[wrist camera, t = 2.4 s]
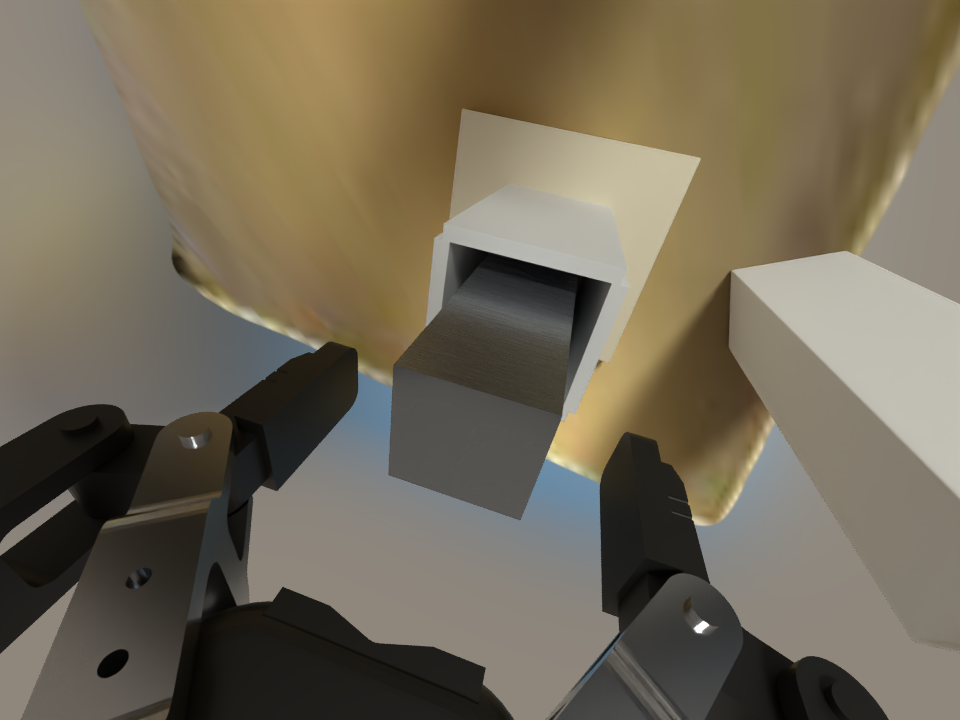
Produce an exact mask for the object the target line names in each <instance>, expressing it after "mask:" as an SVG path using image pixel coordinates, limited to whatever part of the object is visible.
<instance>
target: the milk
mask: <svg viewBox="0 0 960 720" xmlns="http://www.w3.org/2000/svg"><path fill="white" fill-rule="evenodd" d="M729 349H730V351H731V352H732V354H733V356H734V357H735V359H736V360H737V362H738V364H739V365H740V367H741V368H742V370H743V372H744V373H745V375H746V376H747V378H748V380H749V381H750V383H751V384H752V386H753V388H754V389H755V391H756V392H757V394H758V396H759V397H760V399H761V400H762V402H763V403H764V405H765V407H766V408H767V410H768V411H769V413H770V415H771V416H772V418H773V419H774V421H775V423H776V424H777V426H778V427H779V429H780V431H781V432H782V434H783V435H784V437H785V439H786V440H787V442H788V443H789V445H790V446H791V448H792V450H793V451H794V453H795V454H796V456H797V458H798V459H799V461H800V462H801V464H802V466H803V467H804V469H805V471H806V472H807V474H808V475H809V477H810V478H811V480H812V482H813V483H814V485H815V487H816V488H817V490H818V491H819V493H820V494H821V496H822V498H823V499H824V501H825V502H826V504H827V506H828V507H829V509H830V510H831V512H832V514H833V515H834V517H835V518H836V520H837V521H838V523H839V525H840V526H841V528H842V530H843V531H844V533H845V534H846V536H847V538H848V539H849V541H850V542H851V544H852V546H853V547H854V549H855V550H856V552H857V553H858V555H859V557H860V558H861V560H862V561H863V563H864V565H865V566H866V568H867V570H868V571H869V573H870V574H871V576H872V578H873V579H874V581H875V582H876V584H877V585H878V587H879V589H880V590H881V592H882V593H883V595H884V597H885V598H886V600H887V601H888V603H889V605H890V606H891V608H892V609H893V611H894V613H895V614H896V616H897V617H898V619H899V621H900V622H901V624H902V625H903V627H904V629H905V630H906V632H907V633H908V635H909V636H910V638H911V639H912V641H914V642H916V643H920V644H924V645H928V646H932V647H936V648H941V649H945V650H949V651H953V652H958V653H960V304H958V303H956V302H954V301H952V300H949V299H947V298H945V297H943V296H941V295H939V294H937V293H935V292H932V291H930V290H928V289H926V288H924V287H922V286H920V285H918V284H915V283H913V282H911V281H909V280H907V279H905V278H903V277H901V276H898V275H896V274H894V273H892V272H890V271H887V270H885V269H884V268H881V267H879V266H877V265H875V264H873V263H871V262H869V261H867V260H864V259H862V258H860V257H858V256H856V255H854V254H852V253H850V252H847V251H842V252H836V253H830V254H824V255H818V256H812V257H806V258H800V259H795V260H789V261H783V262H777V263H771V264H765V265H759V266H753V267H747V268H741V269H736V270H732V271H731V289H730V320H729Z"/></svg>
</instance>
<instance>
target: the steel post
mask: <svg viewBox="0 0 960 720" xmlns="http://www.w3.org/2000/svg"><path fill="white" fill-rule="evenodd" d="M577 277H578V275H577V274H573V273H569V272H565V271H561V270H557V269H553V268H550V267H546V266H542V265H538V264H534V263H530V262H526V261H522V260H518V259H514V258H510V257H507V256H503V255H499V254H495V253H491V252H490V253H489V254H488V256H487V257H486V258H485V259H484V260H483V261H482V262H481V264H480V265H479V266H478V267H477V268H476V269H475V271H474V272H473V273H472V274H471V275H470V276H469V278H468V279H467V280H466V281H465V282H464V283H463V285H462V286H461V287H460V288H459V289H458V290H457V292H456V293H455V294H454V295H453V296H452V297H451V299H450V300H449V301H448V302H447V303H446V304H445V306H444V307H443V308H442V309H441V310H440V311H439V313H438V314H437V315H436V316H435V317H434V318H433V320H432V321H431V322H430V323H429V324H428V325H427V327H426V328H425V329H424V330H423V331H422V332H421V334H420V335H419V336H418V337H417V338H416V339H415V341H414V342H413V343H412V344H411V345H410V346H409V348H408V349H407V350H406V351H405V352H404V353H403V355H402V356H401V357H400V358H399V359H398V360H397V362H396V363H395V364H394V368H393V389H392V411H391V435H390V454H389V475H390V476H393V477H396V478H399V479H402V480H405V481H408V482H411V483H413V484H416V485H419V486H422V487H425V488H428V489H431V490H434V491H437V492H440V493H442V494H446V495H449V496H451V497H454V498H457V499H460V500H463V501H466V502H469V503H472V504H474V505H477V506H480V507H483V508H486V509H489V510H492V511H495V512H498V513H501V514H503V515H506V516H509V517H512V518H515V519H518V520H521V517H522V515H523V513H524V510H525V508H526V505H527V503H528V500H529V498H530V495H531V493H532V490H533V488H534V485H535V483H536V480H537V478H538V475H539V473H540V470H541V468H542V465H543V463H544V460H545V458H546V455H547V453H548V450H549V448H550V445H551V443H552V440H553V438H554V436H555V433H556V431H557V428H558V426H559V423H560V421H561V418H562V414H563V405H564V396H565V387H566V377H567V368H568V359H569V350H570V341H571V332H572V323H573V314H574V305H575V295H576V286H577Z"/></svg>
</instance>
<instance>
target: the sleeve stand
mask: <svg viewBox="0 0 960 720" xmlns="http://www.w3.org/2000/svg"><path fill="white" fill-rule="evenodd" d="M700 160H701V158H698V157H693V156H689V155H684V154H679V153H674V152H669V151H665V150H660V149H655V148H650V147H645V146H640V145H636V144H631V143H626V142H621V141H616V140H612V139H607V138H602V137H597V136H592V135H588V134H583V133H578V132H573V131H568V130H564V129H559V128H554V127H549V126H544V125H539V124H535V123H530V122H525V121H520V120H515V119H511V118H506V117H501V116H496V115H491V114H487V113H482V112H477V111H472V110H467V109H462V113H461V121H460V130H459V138H458V147H457V155H456V164H455V172H454V181H453V189H452V198H451V206H450V215H449V221H447V222H445V223H444V227H443V233H441V234H440V235H438V236H437V237H435V238H434V247H433V257H432V267H431V277H430V287H429V298H428V308H427V318H426V327H427V325H428V324H429V323H430V322H431V321H432V320H433V318H434V317H435V316H436V315H437V314H438V313H439V311H440V310H441V309H442V308H443V307H444V306H445V304H446V303H447V302H448V301H449V300H450V299H451V297H452V296H453V295H454V294H455V293H456V292H457V290H458V289H459V288H460V287H461V286H462V285H463V283H464V282H465V281H466V280H467V279H468V278H469V276H470V275H471V274H472V273H473V272H474V271H475V269H476V268H477V267H478V266H479V265H480V264H481V262H482V261H483V260H484V259H485V258H486V257H487V256H488V254H489V253H490V252H491V253H495V254H499V255H503V256H507V257H510V258H514V259H518V260H522V261H526V262H530V263H534V264H538V265H542V266H546V267H550V268H553V269H557V270H561V271H565V272H569V273H573V274H577V275H578V277H577V286H576V295H575V305H574V314H573V323H572V332H571V341H570V350H569V359H568V368H567V377H566V387H565V396H564V405H563V414H562V418H561V421H562V422H565V419H566V417H567V415H568V412H569V413H572V414H576V411H577V409H578V407H579V404H580V402H581V400H582V397H583V395H584V392H585V390H586V388H587V385H588V383H589V381H590V378H591V376H592V374H593V371H594V369H595V367H596V364H597V362H598V360H601V361H605V362H608V363H609V362H610V360H611V357H612V355H613V353H614V351H615V349H616V346H617V344H618V342H619V340H620V337H621V335H622V333H623V331H624V329H625V326H626V324H627V322H628V320H629V317H630V315H631V313H632V311H633V309H634V306H635V304H636V302H637V300H638V297H639V295H640V293H641V291H642V289H643V286H644V284H645V282H646V280H647V277H648V275H649V273H650V271H651V268H652V266H653V264H654V262H655V260H656V257H657V255H658V253H659V251H660V248H661V246H662V244H663V242H664V240H665V237H666V235H667V233H668V231H669V228H670V226H671V224H672V222H673V220H674V217H675V215H676V213H677V211H678V208H679V206H680V204H681V202H682V200H683V197H684V195H685V193H686V191H687V188H688V186H689V184H690V182H691V180H692V177H693V175H694V173H695V171H696V168H697V166H698V164H699V162H700Z"/></svg>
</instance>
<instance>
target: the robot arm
mask: <svg viewBox="0 0 960 720" xmlns="http://www.w3.org/2000/svg"><path fill="white" fill-rule="evenodd" d="M357 393H358V355H357V351H356V349H354V348H351V347H348V346H345V345H341V344H338V343H335V342H328V343H326V344H325V345H324V346H322V347H321V348H320V349H318V350H317V351H316V352H315V353H310V352H309V353H306V354H303V355H301V356H298V357H296V358H292V359H291V360H289V361H288V362H286V363H285V364H284V365H282V366H281V367H280V368H278V369H277V371H276V372H275V371H274V372H273V373H271V374H270V375H269V376H268V377H266V379H265V380H262V381H261V382H259V383H258V384H257V385H255V386H254V387H253V388H251V389H250V390H248V391H247V392H246V393H244V394H243V395H242V396H240V397H239V398H238V399H236V400H235V401H234V402H232V403H231V404H230V405H228V406H227V407H226V408H224V409H223V410H222V411H220V412H219V413H215V412H199V413H194V414H190V415H186V416H183V417H181V418H179V419H176V420H175V421H173V422H171V423H170V424H168V425H167V426H155V425H137V424H130V423H129V421H128V419H127V417H126V415H125V413H124V412H123V410H122V409H120V408H119V407H116V406H113V405H106V404H98V405H88V406H83V407H79V408H75V409H72V410H69V411H66V412H63V413H61V414H59V415H57V416H55V417H53V418H51V419H49V420H47V421H46V422H44V423H42V424H40V425H39V426H37V427H35V428H33V429H31V430H29V431H28V432H26V433H24V434H22V435H21V436H19V437H17V438H15V439H13V440H12V441H10V442H8V443H6V444H4V445H3V446H1V447H0V542H1V541H2V539H3V538H4V537H5V536H6V534H8V533H9V532H10V531H11V530H12V529H13V528H14V527H16V526H17V525H19V524H20V523H21V522H23V521H24V520H26V519H27V518H28V517H30V516H31V515H32V514H34V513H35V512H37V511H38V510H39V509H40V508H42V507H44V506H45V505H46V504H48V503H49V502H51V501H52V500H53V499H55V498H56V497H57V496H59V495H60V494H62V493H63V492H64V491H66V490H67V489H68V490H69V492H70V493H71V494H72V496H73V497H74V499H75V500H74V501H73V502H71V503H70V504H69V505H67V506H66V507H65V508H63V509H62V510H61V511H59V512H58V513H57V514H56V515H54V516H53V517H51V518H50V519H49V520H47V521H46V522H45V523H43V524H42V525H41V526H39V527H38V528H37V529H36V530H34V531H33V532H31V533H30V534H29V535H28V536H26V537H25V538H24V539H22V540H21V541H20V542H18V543H17V544H16V545H14V546H13V547H12V548H10V549H9V550H8V551H6V552H5V553H4V554H2V555H1V556H0V653H1V652H2V651H4V650H5V649H6V648H7V647H8V646H9V645H10V644H11V643H12V642H13V641H14V640H15V639H16V638H18V637H19V636H20V635H21V634H22V633H23V632H24V631H25V630H26V629H27V628H28V627H29V626H31V625H32V624H33V623H34V622H35V621H36V620H37V619H38V618H39V617H40V616H41V615H42V614H44V613H45V612H46V611H47V610H48V609H49V608H50V607H51V606H52V605H53V604H54V603H55V602H57V601H58V600H59V599H60V598H61V597H62V596H63V595H64V594H65V593H66V592H67V591H68V590H70V589H71V588H72V587H73V586H74V585H75V584H76V583H77V582H78V581H79V582H78V584H77V587H76V589H75V592H74V594H73V596H72V599H71V601H70V604H69V606H68V608H67V611H66V613H65V616H64V618H63V620H62V623H61V625H60V627H59V630H58V632H57V635H56V637H55V639H54V642H53V644H52V647H51V649H50V651H49V654H48V656H47V659H46V661H45V663H44V666H43V668H42V670H41V673H40V675H39V678H38V680H37V682H36V685H35V687H34V690H33V692H32V694H31V697H30V699H29V702H28V704H27V706H26V709H25V711H24V714H23V717H22V718H21V720H514V719H513V717H512V716H511V714H510V713H509V712H508V711H507V709H506V708H505V706H504V705H503V703H502V702H501V701H500V700H499V699H498V698H497V697H496V696H495V695H494V694H493V693H492V692H491V691H490V690H489V689H488V688H486V687H485V686H484V685H483V679H484V673H485V667H482V666H480V665H477V664H475V663H472V662H470V661H467V660H465V659H462V658H460V657H457V656H455V655H452V654H450V653H447V652H445V651H442V650H440V649H437V648H435V647H426V646H412V645H395V644H380V643H375V642H372V641H371V640H369V639H368V638H367V637H366V636H364V635H363V634H362V633H361V632H360V631H359V630H357V629H356V628H355V627H354V626H353V625H352V624H350V623H349V622H348V621H347V620H346V619H345V618H343V617H342V616H341V615H340V614H339V613H338V612H337V611H335V610H334V609H333V608H332V607H331V606H329V605H327V604H324V603H322V602H319V601H317V600H314V599H312V598H309V597H307V596H304V595H302V594H299V593H297V592H294V591H292V590H289V589H286V588H284V587H282V589H281V590H280V592H279V593H278V594H277V596H276V597H275V599H274V600H273V602H269V601H267V602H254V603H249V586H248V577H247V564H248V554H249V542H250V531H251V519H252V507H253V496H252V494H253V493H254V492H255V491H256V490H257V489H258V488H259V487H260V486H264V487H267V488H270V489H273V490H275V491H277V490H279V488H280V487H281V486H282V485H283V484H284V483H285V482H286V480H287V479H288V478H289V477H290V476H291V475H292V474H293V473H294V472H295V470H296V469H297V468H298V467H299V466H300V465H301V464H302V462H303V461H304V460H305V459H306V458H307V457H308V456H309V455H310V453H311V452H312V451H313V450H314V449H315V448H316V447H317V446H318V444H319V443H320V442H321V441H322V440H323V439H324V438H325V437H326V435H327V434H328V433H329V432H330V431H331V430H332V429H333V428H334V426H335V425H336V424H337V423H338V422H339V421H340V419H342V417H343V416H344V415H345V414H346V413H347V412H348V411H349V410H350V408H351V407H352V406H353V404H354V402H355V399H356V397H357ZM600 523H601V568H602V611H603V612H606V613H608V614H611V615H614V616H617V617H619V633H618V634H617V635H616V636H615V638H614V639H613V640H612V641H611V643H610V644H609V645H608V646H607V647H606V648H605V650H604V651H603V652H602V653H601V654H600V656H599V657H598V658H597V659H596V660H595V662H594V663H593V664H592V665H591V666H590V668H589V669H588V670H587V671H586V672H585V674H584V675H583V676H582V677H581V679H580V680H579V681H578V682H577V683H576V684H575V686H574V687H573V688H572V689H571V691H570V692H569V693H568V694H567V695H566V696H565V697H564V699H563V700H562V701H561V702H560V703H559V704H558V706H557V707H556V708H555V709H554V710H553V711H552V712H551V713H550V715H549V716H548V717H547V718H546V719H545V720H889V719H888V718H887V716H886V715H885V713H884V712H883V710H882V708H881V707H880V706H879V705H878V703H877V702H876V700H875V699H874V698H873V697H872V696H871V695H870V694H869V692H868V691H867V690H866V689H865V688H864V687H863V686H862V685H861V684H860V683H859V682H858V681H857V680H856V679H855V678H854V677H852V676H851V675H850V674H849V673H847V672H846V671H845V670H843V669H842V668H841V667H839V666H837V665H836V664H834V663H832V662H830V661H828V660H826V659H823V658H820V657H815V656H808V657H805V658H802V659H801V660H799V661H797V662H795V663H794V662H792V661H791V660H789V659H788V658H786V657H785V656H783V655H782V654H780V653H779V652H777V651H776V650H774V649H773V648H771V647H770V646H768V645H767V644H765V643H764V642H762V641H761V640H759V639H758V638H756V637H755V636H753V635H752V634H750V633H749V632H748V631H746V630H745V629H744V628H743V627H741V624H740V622H739V619H738V617H737V615H736V613H735V611H734V609H733V608H732V606H731V605H730V603H729V602H728V601H727V600H726V599H725V597H724V596H723V595H722V594H721V593H720V592H719V591H718V590H717V589H716V588H714V587H713V586H712V585H711V584H710V582H709V578H708V575H707V571H706V567H705V563H704V559H703V556H702V552H701V548H700V544H699V540H698V537H697V533H696V529H695V525H694V521H693V520H692V514H691V510H690V506H689V505H688V498H687V495H686V491H685V487H684V483H683V482H682V480H681V479H680V477H679V476H678V474H677V473H676V471H675V470H674V468H673V467H672V465H669V464H666V463H663V462H661V459H660V454H659V450H658V445H657V442H656V441H655V440H653V439H649V438H646V437H643V436H639V435H636V434H633V433H629V432H626V433H624V434H623V436H622V437H621V439H620V441H619V443H618V445H617V447H616V448H615V450H614V452H613V454H612V456H611V458H610V459H609V461H608V463H607V465H606V467H605V469H604V471H603V474H602V478H601V483H600Z"/></svg>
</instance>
